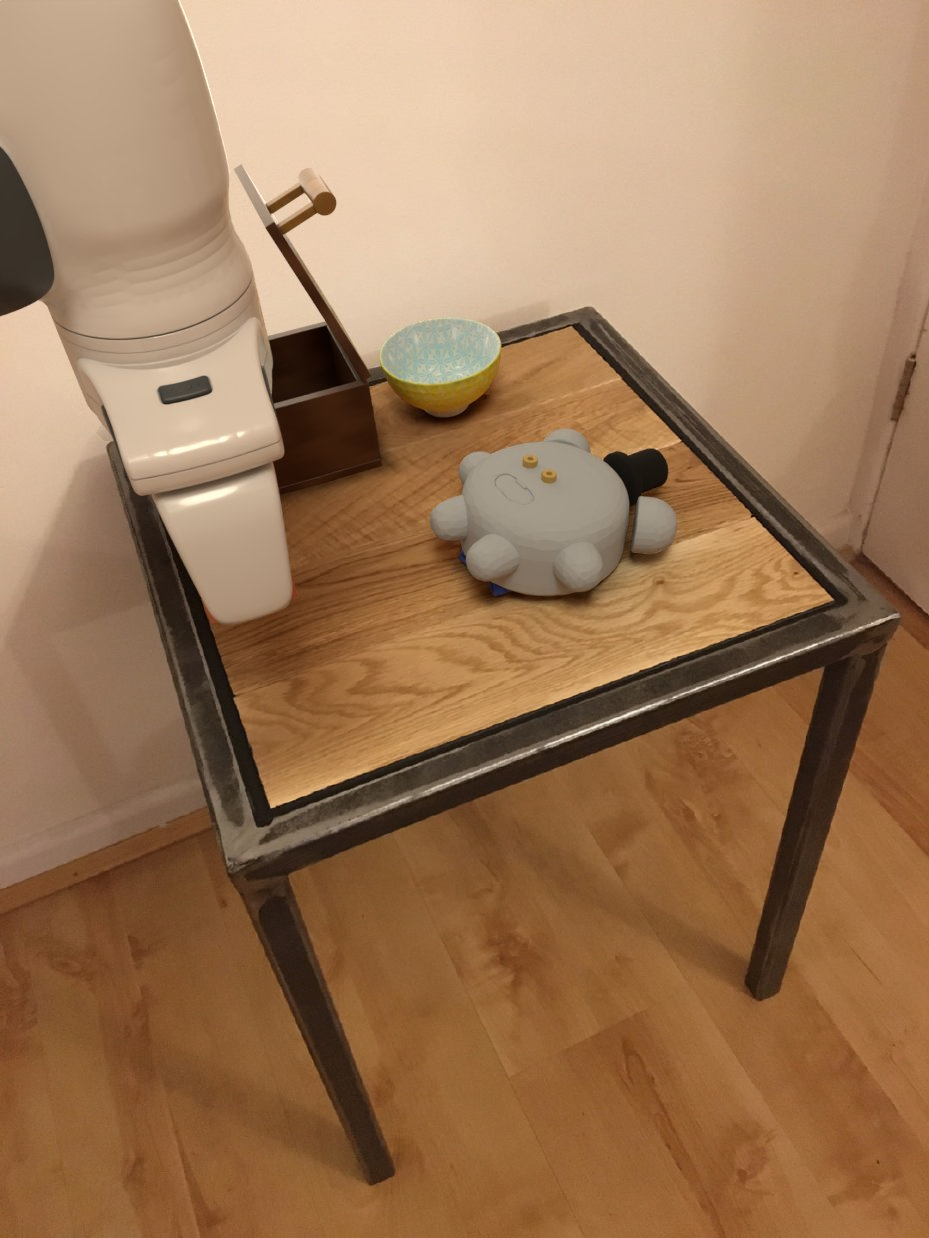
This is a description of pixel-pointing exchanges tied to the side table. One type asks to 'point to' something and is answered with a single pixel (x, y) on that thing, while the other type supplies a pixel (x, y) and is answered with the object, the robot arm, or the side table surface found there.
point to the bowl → (441, 363)
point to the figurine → (554, 514)
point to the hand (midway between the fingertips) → (238, 562)
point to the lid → (319, 203)
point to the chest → (320, 410)
